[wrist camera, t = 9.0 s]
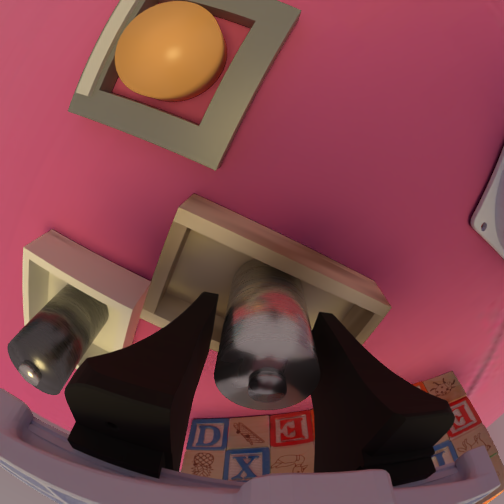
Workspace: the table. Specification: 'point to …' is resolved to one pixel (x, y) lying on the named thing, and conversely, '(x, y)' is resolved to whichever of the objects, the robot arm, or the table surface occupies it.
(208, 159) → the grey square frame
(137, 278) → the white square tray
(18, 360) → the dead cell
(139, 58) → the button
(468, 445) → the stack of blocks
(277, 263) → the trough
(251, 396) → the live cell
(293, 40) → the table surface
